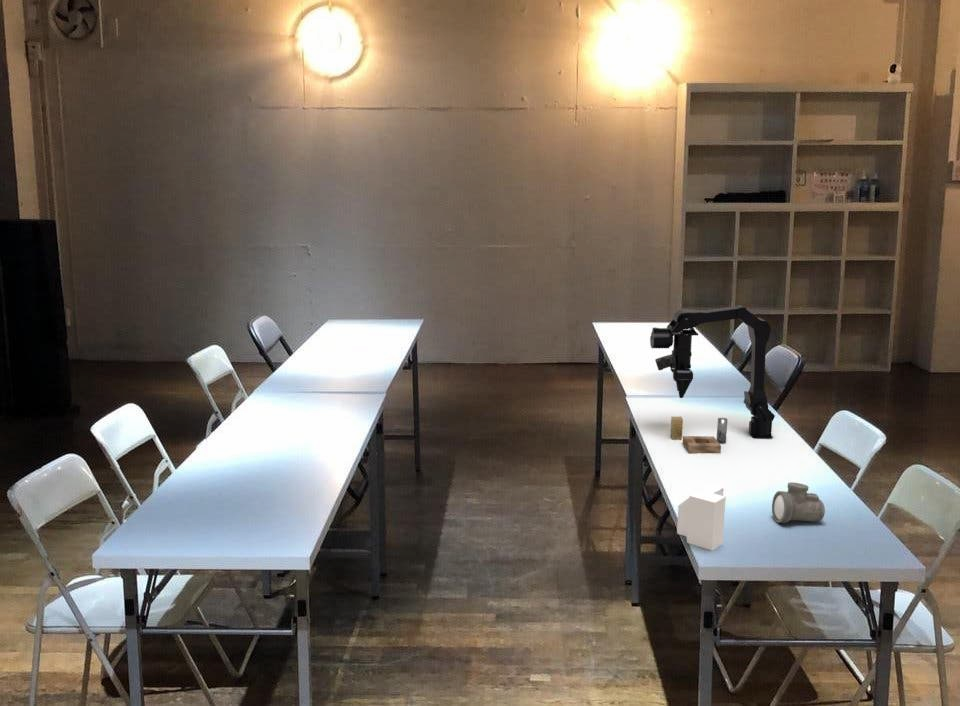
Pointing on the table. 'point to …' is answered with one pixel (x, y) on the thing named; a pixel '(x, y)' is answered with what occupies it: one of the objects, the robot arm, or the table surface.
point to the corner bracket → (703, 517)
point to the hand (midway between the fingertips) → (680, 394)
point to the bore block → (701, 444)
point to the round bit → (721, 430)
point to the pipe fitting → (797, 505)
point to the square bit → (676, 428)
